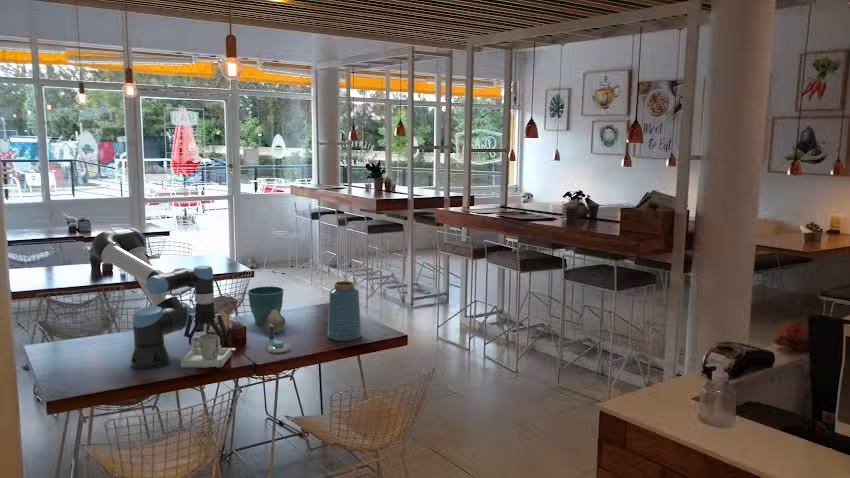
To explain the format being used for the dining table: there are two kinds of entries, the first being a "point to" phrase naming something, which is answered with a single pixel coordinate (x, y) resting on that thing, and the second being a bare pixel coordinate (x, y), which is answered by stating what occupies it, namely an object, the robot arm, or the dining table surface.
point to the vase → (344, 312)
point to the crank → (271, 338)
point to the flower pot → (265, 301)
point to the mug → (208, 346)
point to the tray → (197, 361)
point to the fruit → (275, 321)
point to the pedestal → (278, 349)
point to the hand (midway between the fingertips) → (206, 352)
